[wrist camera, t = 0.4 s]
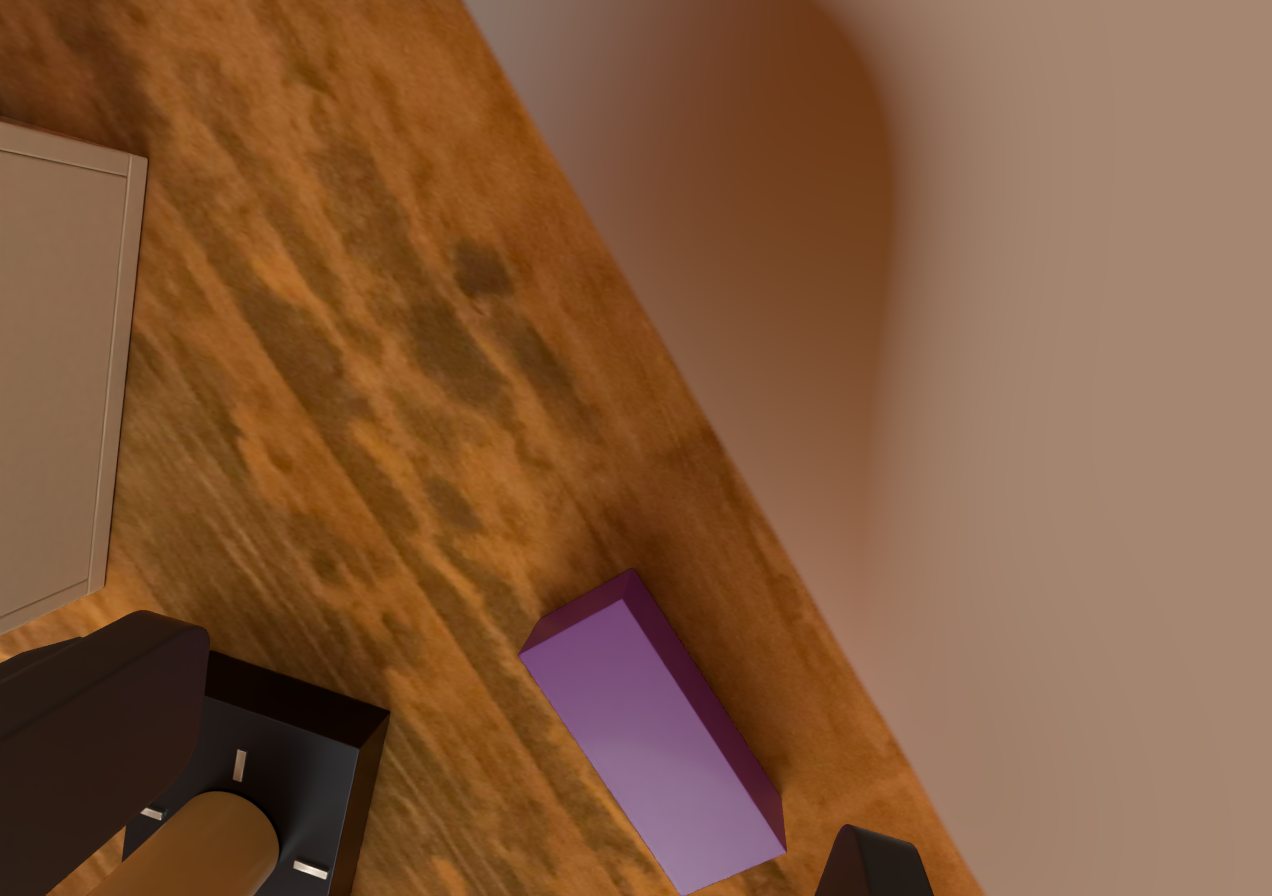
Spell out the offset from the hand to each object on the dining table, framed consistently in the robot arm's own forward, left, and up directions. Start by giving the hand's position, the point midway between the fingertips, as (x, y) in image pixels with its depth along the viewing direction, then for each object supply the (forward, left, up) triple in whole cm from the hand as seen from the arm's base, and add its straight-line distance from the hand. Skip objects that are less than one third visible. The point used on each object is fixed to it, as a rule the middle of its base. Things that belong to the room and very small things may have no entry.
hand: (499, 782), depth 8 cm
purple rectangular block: (+9, +3, -17) cm, 20 cm away
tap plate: (+19, -12, -17) cm, 29 cm away
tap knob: (+19, -12, -15) cm, 27 cm away
